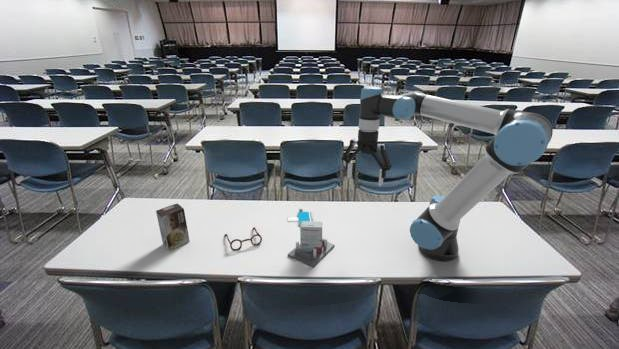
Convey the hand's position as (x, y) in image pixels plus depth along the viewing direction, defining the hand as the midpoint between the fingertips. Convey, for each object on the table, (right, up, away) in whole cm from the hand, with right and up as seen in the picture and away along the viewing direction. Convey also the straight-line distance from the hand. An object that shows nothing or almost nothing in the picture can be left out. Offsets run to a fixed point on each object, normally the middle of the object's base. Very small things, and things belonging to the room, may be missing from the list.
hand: (364, 181), depth 130 cm
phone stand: (-26, -19, +25) cm, 41 cm away
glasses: (-50, -26, +9) cm, 57 cm away
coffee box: (-78, -26, +6) cm, 82 cm away
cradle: (-21, -28, +1) cm, 35 cm away
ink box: (-21, -28, +1) cm, 35 cm away
